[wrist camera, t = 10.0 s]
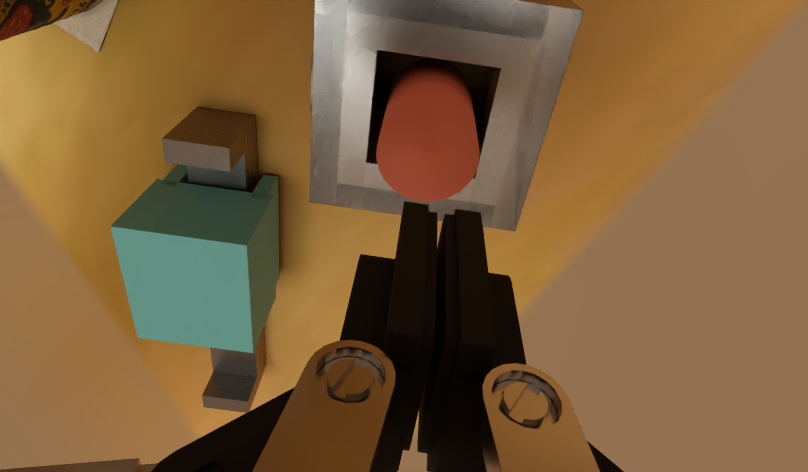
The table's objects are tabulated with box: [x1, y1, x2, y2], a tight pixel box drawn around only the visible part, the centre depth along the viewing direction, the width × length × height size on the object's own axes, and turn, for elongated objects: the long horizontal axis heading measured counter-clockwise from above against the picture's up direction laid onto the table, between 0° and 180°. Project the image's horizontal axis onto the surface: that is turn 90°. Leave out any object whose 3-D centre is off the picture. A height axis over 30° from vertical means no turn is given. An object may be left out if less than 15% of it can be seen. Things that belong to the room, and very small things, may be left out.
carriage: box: [111, 164, 280, 353], centre depth 27 cm, size 7×6×6 cm
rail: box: [162, 107, 266, 413], centre depth 30 cm, size 19×3×4 cm, turn 173°
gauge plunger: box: [376, 57, 480, 201], centre depth 17 cm, size 3×3×5 cm
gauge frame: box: [310, 0, 584, 231], centre depth 20 cm, size 8×8×8 cm
